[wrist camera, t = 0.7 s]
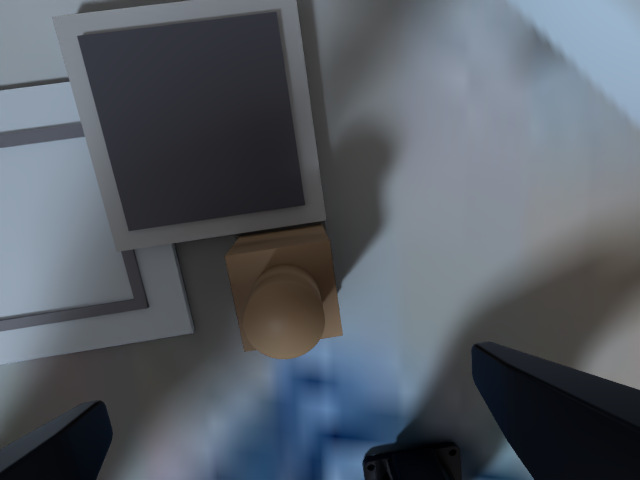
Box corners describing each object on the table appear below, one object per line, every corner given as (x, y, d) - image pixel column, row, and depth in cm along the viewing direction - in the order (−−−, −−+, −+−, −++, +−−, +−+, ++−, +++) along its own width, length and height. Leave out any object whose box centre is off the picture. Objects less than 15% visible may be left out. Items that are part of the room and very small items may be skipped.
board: (194, 329, 20) (191, 334, 20) (-52, 370, 20) (-63, 376, 19) (134, 75, 17) (128, 72, 17) (-160, 113, 17) (-176, 111, 16)
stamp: (333, 297, 21) (355, 369, 13) (254, 310, 20) (232, 390, 13) (322, 218, 20) (340, 249, 12) (238, 231, 19) (205, 270, 12)
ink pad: (324, 217, 20) (327, 221, 18) (127, 246, 19) (113, 253, 18) (294, 0, 17) (294, -16, 16) (68, 27, 17) (47, 13, 15)
